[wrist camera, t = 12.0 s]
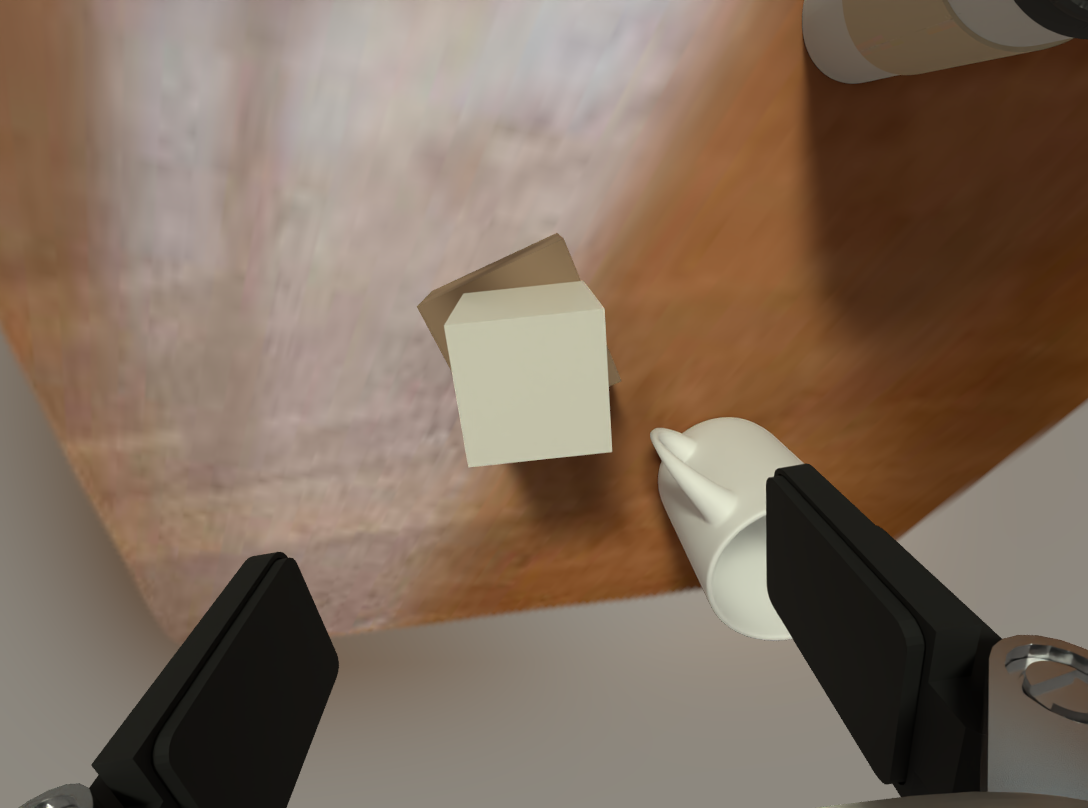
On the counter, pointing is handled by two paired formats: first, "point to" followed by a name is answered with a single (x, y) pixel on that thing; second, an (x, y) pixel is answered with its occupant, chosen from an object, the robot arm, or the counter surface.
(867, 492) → the counter surface
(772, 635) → the mug
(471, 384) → the cream block
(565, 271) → the walnut block
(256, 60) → the counter surface
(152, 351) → the counter surface
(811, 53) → the coffee cup
